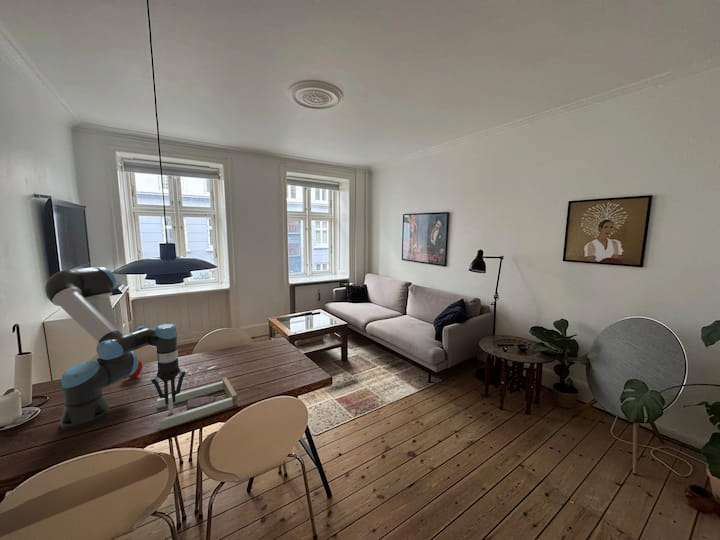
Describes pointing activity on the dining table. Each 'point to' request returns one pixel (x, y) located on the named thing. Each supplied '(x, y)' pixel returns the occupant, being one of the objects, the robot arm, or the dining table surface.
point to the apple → (137, 370)
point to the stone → (199, 402)
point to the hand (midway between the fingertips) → (170, 409)
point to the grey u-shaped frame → (203, 409)
